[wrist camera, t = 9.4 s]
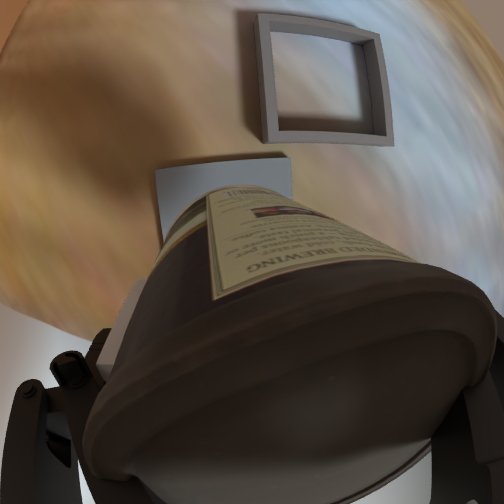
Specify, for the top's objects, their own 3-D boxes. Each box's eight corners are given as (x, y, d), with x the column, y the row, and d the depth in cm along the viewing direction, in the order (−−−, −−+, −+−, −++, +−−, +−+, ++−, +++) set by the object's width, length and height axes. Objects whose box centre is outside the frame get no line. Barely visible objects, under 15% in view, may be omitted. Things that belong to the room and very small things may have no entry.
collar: (253, 23, 20) (257, 13, 18) (368, 40, 22) (379, 34, 20) (262, 143, 25) (268, 141, 23) (381, 146, 27) (394, 146, 25)
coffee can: (203, 350, 19) (220, 538, 6) (134, 224, 15) (-16, 399, 2) (331, 297, 19) (455, 442, 6) (291, 160, 16) (523, 180, 3)
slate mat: (156, 169, 24) (154, 169, 23) (288, 157, 26) (290, 157, 25) (174, 292, 28) (173, 296, 28) (292, 278, 30) (294, 280, 29)
